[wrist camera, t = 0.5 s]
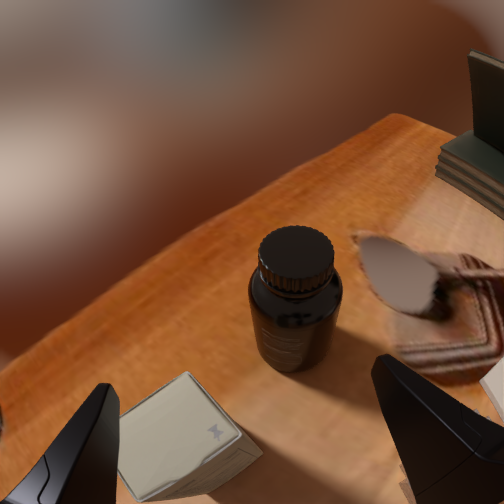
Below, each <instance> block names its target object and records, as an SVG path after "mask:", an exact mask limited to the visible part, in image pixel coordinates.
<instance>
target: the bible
mask: <svg viewBox="0 0 504 504" xmlns="http://www.w3.org/2000/svg"><path fill="white" fill-rule="evenodd" d="M467 57H468V64H469V72H470V81H471V91H472V104H473V126H474V127H473V128H474V131H472V130H469V131H467V132H465V133H464V134H462V135H460V136H458V137H456V138H455V139H453V140H451V141H449V142H448V143H446V144H444V145H442V146H440V148H441V153H440V155H439V156H438V159H439V162H438V165H436V166H435V168H436V173H435V176H437V177H439V178H440V179H442V180H444V181H445V182H447V183H449V184H450V185H452V186H454V187H455V188H457V189H458V190H460V191H462V192H463V193H465V194H466V195H468V196H469V197H471V198H472V199H474V200H475V201H477V202H478V203H480V204H481V205H483V206H484V207H486V208H487V209H489V210H490V211H491V212H493V213H494V214H496V215H497V216H498V217H500V218H501V219H502V220H504V61H501V60H499V59H497V58H494V57H492V56H489V55H487V54H484V53H482V52H479V51H476V50H474V49H470V54H467Z"/></svg>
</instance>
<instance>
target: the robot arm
mask: <svg viewBox="0 0 504 504" xmlns="http://www.w3.org/2000/svg"><path fill="white" fill-rule="evenodd" d="M371 377H372V380H373V384H374V387H375V390H376V394H377V397H378V401H379V404H380V408H381V411H382V413H383V416H384V418H385V421H386V423H387V426H388V428H389V431H390V433H391V436H392V438H393V441H394V443H395V446H396V448H397V451H398V454H399V456H400V459H401V461H402V464H403V467H404V469H405V472H406V475H407V477H408V480H409V483H410V486H411V489H412V491H413V494H414V497H415V500H416V503H417V504H504V427H502V426H500V425H498V424H496V423H494V422H492V421H490V420H489V419H487V418H485V417H483V416H481V415H479V414H478V413H476V412H474V411H473V410H471V409H470V408H468V407H467V406H465V405H464V404H462V403H460V402H459V401H457V400H456V399H454V398H453V397H451V396H450V395H449V394H447V393H446V392H444V391H443V390H441V389H440V388H438V387H437V386H435V385H434V384H432V383H431V382H429V381H428V380H426V379H425V378H423V377H422V376H420V375H419V374H417V373H416V372H414V371H413V370H411V369H410V368H409V367H407V366H406V365H404V364H403V363H401V362H400V361H398V360H397V359H395V358H394V357H392V356H391V355H389V354H384V355H380V356H378V357H377V358H376V360H375V363H374V365H373V368H372V370H371ZM119 446H120V401H119V397H118V395H117V394H116V392H115V390H114V388H113V386H112V385H111V384H109V383H99V384H98V385H97V386H96V387H95V389H94V390H93V391H92V392H91V394H90V395H89V396H88V397H87V399H86V400H85V401H84V402H83V404H82V405H81V406H80V407H79V409H78V410H77V411H76V412H75V414H74V415H73V416H72V418H71V419H70V420H69V421H68V423H67V424H66V425H65V427H64V428H63V429H62V430H61V432H60V433H59V434H58V436H57V437H56V438H55V440H54V441H53V442H52V443H51V445H50V446H49V447H48V449H47V450H46V451H45V453H44V455H42V457H41V458H40V459H39V461H38V462H37V463H36V464H35V466H34V467H33V468H32V469H31V471H30V472H29V473H28V474H27V475H26V476H25V477H24V479H23V480H22V481H21V482H20V483H19V484H18V485H17V486H16V487H15V488H14V489H13V490H12V491H11V492H10V493H9V494H8V495H7V497H5V498H4V499H3V500H2V501H0V504H116V488H117V471H118V457H119Z"/></svg>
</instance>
